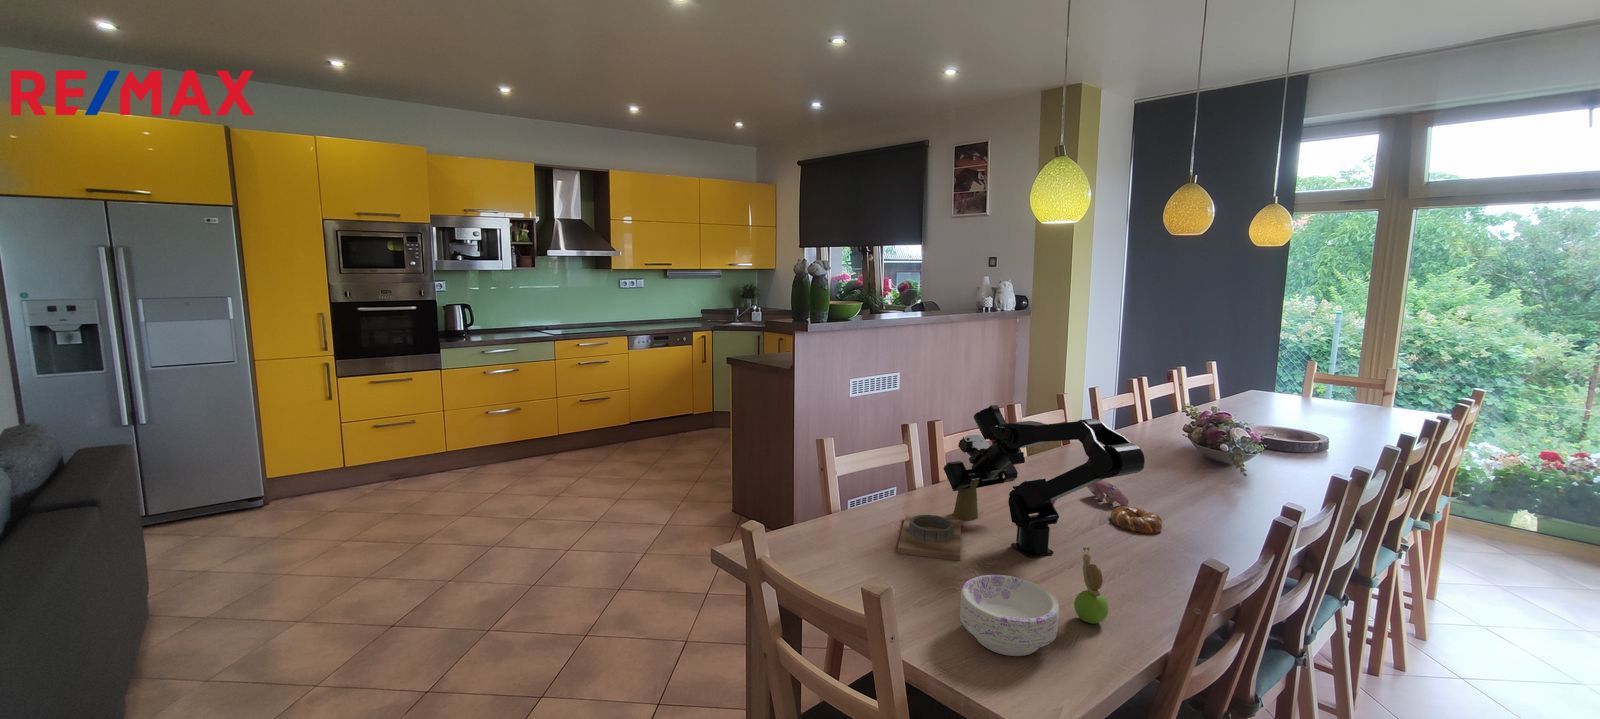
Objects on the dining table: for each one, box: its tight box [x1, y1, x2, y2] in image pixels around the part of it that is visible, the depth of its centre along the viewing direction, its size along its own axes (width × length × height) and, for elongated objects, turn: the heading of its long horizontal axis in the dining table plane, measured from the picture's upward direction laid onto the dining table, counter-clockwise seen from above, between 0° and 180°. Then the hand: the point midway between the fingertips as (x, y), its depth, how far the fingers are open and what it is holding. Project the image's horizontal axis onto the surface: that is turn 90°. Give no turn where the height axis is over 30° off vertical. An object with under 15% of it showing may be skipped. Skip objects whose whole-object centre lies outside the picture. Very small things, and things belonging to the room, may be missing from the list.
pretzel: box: [1110, 505, 1163, 534], centre depth 160 cm, size 12×11×4 cm
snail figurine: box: [1073, 547, 1109, 625], centre depth 114 cm, size 5×6×12 cm
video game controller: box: [1086, 480, 1129, 506], centre depth 176 cm, size 10×5×7 cm, turn 25°
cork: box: [953, 479, 979, 521], centre depth 163 cm, size 6×6×11 cm
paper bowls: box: [959, 574, 1060, 657], centre depth 107 cm, size 15×15×8 cm
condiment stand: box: [897, 514, 962, 562], centre depth 148 cm, size 20×13×4 cm, turn 166°
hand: (963, 487), depth 164 cm, fingers open, 6 cm apart
